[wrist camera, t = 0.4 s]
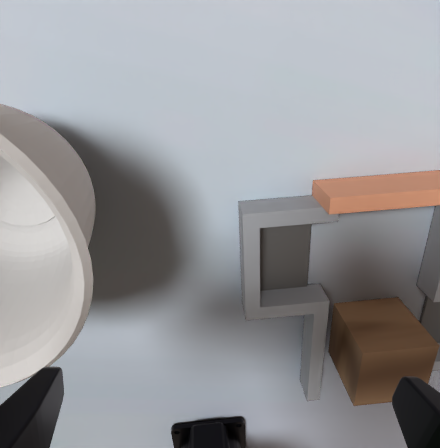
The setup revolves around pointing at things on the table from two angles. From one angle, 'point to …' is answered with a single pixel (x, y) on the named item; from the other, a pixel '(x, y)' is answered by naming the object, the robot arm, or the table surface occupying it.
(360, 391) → the walnut block
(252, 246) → the trap lane
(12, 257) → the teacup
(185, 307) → the table surface
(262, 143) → the table surface
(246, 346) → the table surface
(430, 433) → the robot arm
